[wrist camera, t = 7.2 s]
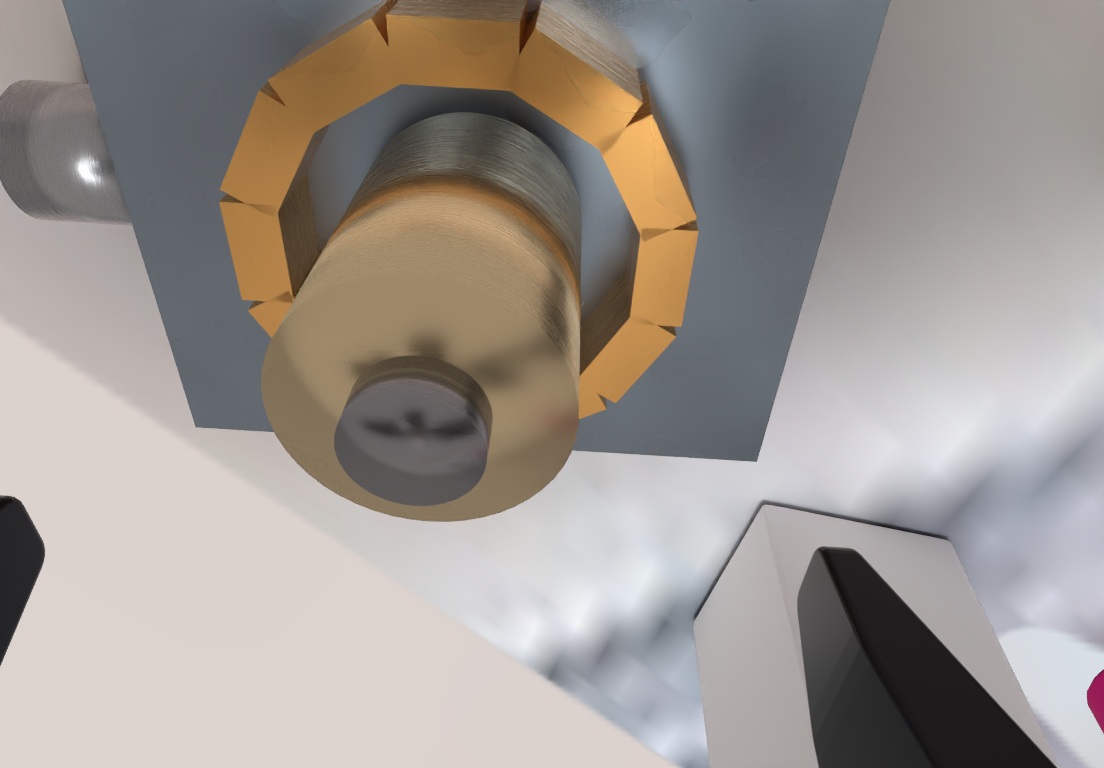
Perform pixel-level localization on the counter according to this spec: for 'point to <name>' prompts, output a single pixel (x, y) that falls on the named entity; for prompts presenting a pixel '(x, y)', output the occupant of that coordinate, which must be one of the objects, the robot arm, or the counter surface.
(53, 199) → the gearbox
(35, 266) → the counter surface
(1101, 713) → the pepper mill
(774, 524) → the milk carton
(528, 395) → the beige cylinder
